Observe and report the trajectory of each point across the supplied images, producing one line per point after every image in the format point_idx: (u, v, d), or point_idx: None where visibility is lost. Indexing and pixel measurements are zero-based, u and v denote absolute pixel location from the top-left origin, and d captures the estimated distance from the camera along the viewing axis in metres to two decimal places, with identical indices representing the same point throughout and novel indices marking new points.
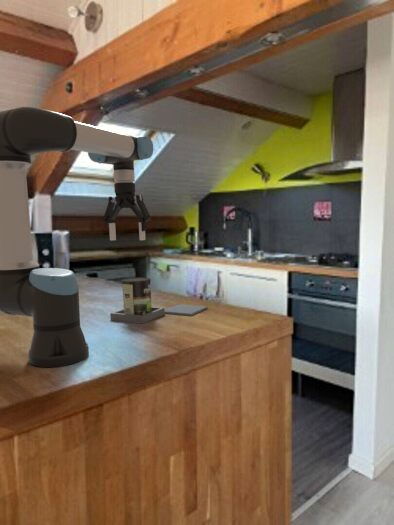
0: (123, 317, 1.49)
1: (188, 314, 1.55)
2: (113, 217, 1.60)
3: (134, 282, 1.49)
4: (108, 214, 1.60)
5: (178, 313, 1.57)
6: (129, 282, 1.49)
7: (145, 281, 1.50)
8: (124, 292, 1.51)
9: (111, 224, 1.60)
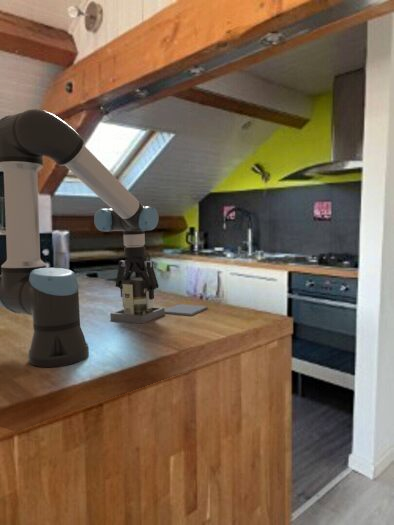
0: (123, 317, 1.49)
1: (188, 314, 1.55)
2: None
3: (134, 282, 1.49)
4: (120, 279, 1.56)
5: (178, 313, 1.57)
6: (129, 282, 1.49)
7: (145, 281, 1.50)
8: (124, 292, 1.51)
9: None
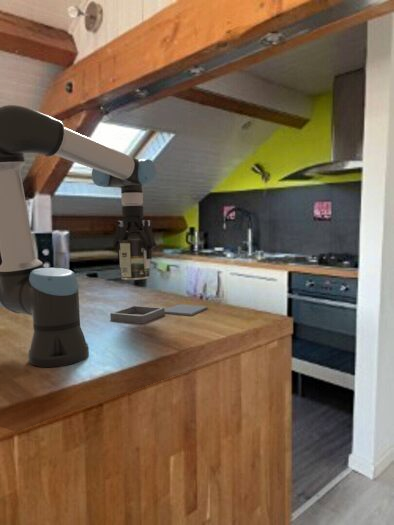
0: (123, 317, 1.49)
1: (188, 314, 1.55)
2: None
3: (131, 241, 1.47)
4: (117, 239, 1.55)
5: (178, 313, 1.57)
6: (126, 241, 1.47)
7: None
8: (121, 251, 1.49)
9: None
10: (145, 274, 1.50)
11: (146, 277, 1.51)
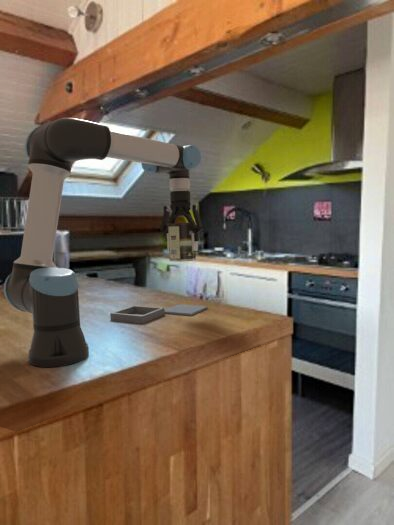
0: (123, 317, 1.49)
1: (188, 314, 1.55)
2: None
3: (181, 224, 1.54)
4: (165, 223, 1.62)
5: (178, 313, 1.57)
6: (176, 224, 1.55)
7: None
8: (170, 234, 1.57)
9: None
10: (193, 256, 1.58)
11: (193, 259, 1.58)
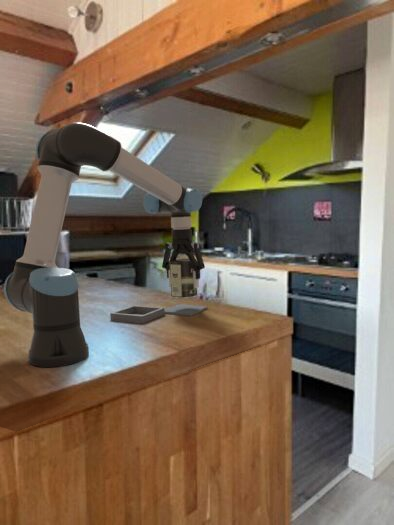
0: (123, 317, 1.49)
1: (188, 314, 1.55)
2: None
3: (182, 262, 1.56)
4: (166, 260, 1.64)
5: (178, 313, 1.57)
6: (177, 262, 1.56)
7: (192, 261, 1.58)
8: (172, 272, 1.59)
9: None
10: (194, 293, 1.59)
11: (195, 296, 1.60)
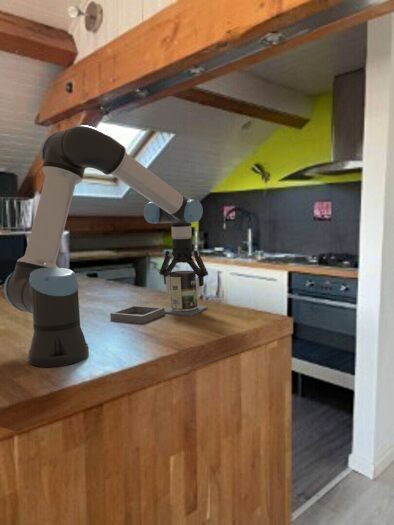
0: (123, 317, 1.49)
1: (188, 314, 1.55)
2: (169, 270, 1.64)
3: (182, 275, 1.56)
4: (164, 267, 1.64)
5: (178, 313, 1.57)
6: (177, 275, 1.57)
7: (192, 273, 1.58)
8: (172, 284, 1.59)
9: (168, 277, 1.64)
10: (194, 305, 1.60)
11: (195, 308, 1.60)
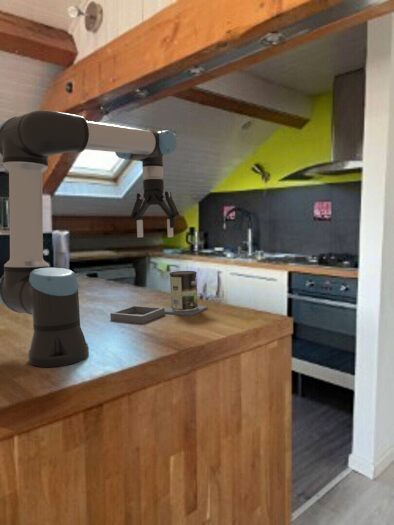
0: (123, 317, 1.49)
1: (188, 314, 1.55)
2: (141, 214, 1.59)
3: (183, 275, 1.56)
4: (136, 211, 1.60)
5: (178, 313, 1.57)
6: (178, 275, 1.57)
7: (192, 274, 1.58)
8: (172, 284, 1.59)
9: (139, 221, 1.59)
10: (195, 305, 1.60)
11: (195, 308, 1.60)
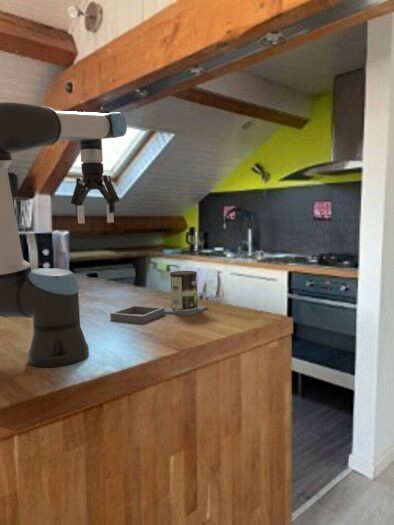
0: (123, 317, 1.49)
1: (188, 314, 1.55)
2: (81, 199, 1.54)
3: (183, 275, 1.56)
4: (76, 196, 1.55)
5: (178, 313, 1.57)
6: (178, 275, 1.57)
7: (193, 274, 1.58)
8: (172, 284, 1.59)
9: (79, 206, 1.55)
10: (195, 305, 1.60)
11: (195, 308, 1.60)
